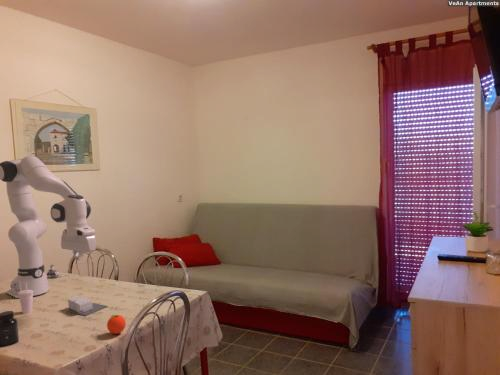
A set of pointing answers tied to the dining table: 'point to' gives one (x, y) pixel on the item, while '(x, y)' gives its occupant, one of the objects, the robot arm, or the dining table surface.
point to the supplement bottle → (8, 329)
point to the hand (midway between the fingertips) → (78, 259)
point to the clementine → (116, 324)
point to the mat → (95, 308)
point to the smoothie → (26, 300)
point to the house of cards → (52, 272)
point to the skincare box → (80, 304)
